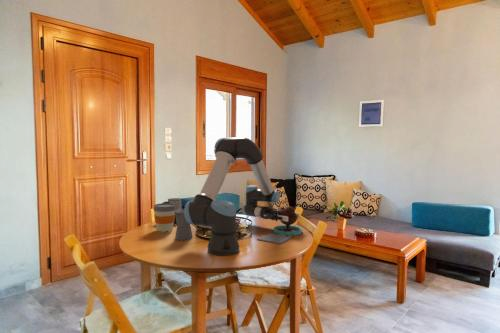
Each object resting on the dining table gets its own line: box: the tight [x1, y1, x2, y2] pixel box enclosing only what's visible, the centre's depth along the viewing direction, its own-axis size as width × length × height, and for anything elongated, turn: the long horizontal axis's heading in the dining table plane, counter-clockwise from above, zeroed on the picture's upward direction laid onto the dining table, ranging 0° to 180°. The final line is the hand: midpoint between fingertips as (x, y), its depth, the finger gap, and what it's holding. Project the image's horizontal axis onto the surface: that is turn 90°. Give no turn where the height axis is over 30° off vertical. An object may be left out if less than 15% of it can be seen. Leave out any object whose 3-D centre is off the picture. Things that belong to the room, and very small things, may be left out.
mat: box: [256, 232, 293, 245], centre depth 180 cm, size 14×14×1 cm
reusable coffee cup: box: [153, 202, 176, 233], centre depth 195 cm, size 13×13×15 cm
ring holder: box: [273, 224, 303, 237], centre depth 194 cm, size 16×16×2 cm
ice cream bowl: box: [279, 206, 298, 232], centre depth 194 cm, size 11×11×15 cm
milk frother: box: [162, 197, 182, 226], centre depth 214 cm, size 14×16×15 cm
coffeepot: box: [174, 204, 193, 241], centre depth 180 cm, size 15×9×18 cm, turn 147°
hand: (293, 217), depth 191 cm, fingers closed on ice cream bowl, 11 cm apart
